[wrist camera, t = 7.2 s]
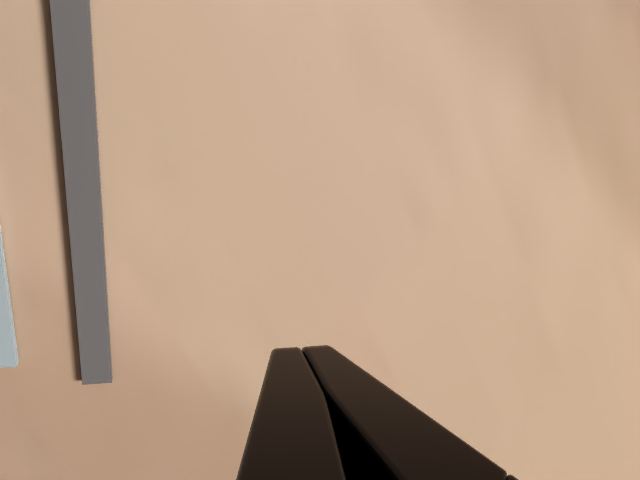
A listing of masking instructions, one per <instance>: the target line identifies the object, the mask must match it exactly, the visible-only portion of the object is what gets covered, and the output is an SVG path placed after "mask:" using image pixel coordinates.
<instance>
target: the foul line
mask: <svg viewBox="0 0 640 480" xmlns="http://www.w3.org/2000/svg"><path fill="white" fill-rule="evenodd" d="M50 11H51V23H52V35H53V47H54V58H55V70H56V82H57V94H58V105H59V117H60V129H61V141H62V152H63V164H64V176H65V188H66V199H67V211H68V223H69V235H70V246H71V258H72V270H73V282H74V293H75V305H76V317H77V329H78V340H79V352H80V364H81V376H82V385H83V384H98V383H112V366H111V349H110V333H109V316H108V299H107V283H106V266H105V250H104V233H103V216H102V200H101V183H100V167H99V150H98V133H97V117H96V100H95V83H94V67H93V50H92V34H91V17H90V0H50Z"/></svg>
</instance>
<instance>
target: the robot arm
mask: <svg viewBox="0 0 640 480" xmlns="http://www.w3.org/2000/svg"><path fill="white" fill-rule="evenodd" d="M236 480H518V479H517V478H515V477H514V476H512V475H508V476H507V473H506V471H505V470H504V469H502V468H501V467H499V466H498V465H497V464H495V463H494V462H492V461H491V460H490V459H488V458H487V457H485V456H484V455H483V454H481V453H480V452H478V451H477V450H476V449H474V448H473V447H471V446H470V445H469V444H467V443H466V442H464V441H463V440H461V439H460V438H459V437H457V436H456V435H454V434H453V433H452V432H450V431H449V430H447V429H446V428H445V427H443V426H442V425H440V424H439V423H438V422H436V421H435V420H433V419H432V418H431V417H429V416H428V415H426V414H425V413H424V412H422V411H421V410H419V409H418V408H416V407H415V406H414V405H412V404H411V403H409V402H408V401H407V400H405V399H404V398H402V397H401V396H400V395H398V394H397V393H395V392H394V391H393V390H391V389H390V388H388V387H387V386H386V385H384V384H383V383H381V382H380V381H379V380H377V379H376V378H374V377H373V376H371V375H370V374H369V373H367V372H366V371H364V370H363V369H362V368H360V367H359V366H357V365H356V364H355V363H353V362H352V361H350V360H349V359H348V358H346V357H345V356H343V355H342V354H341V353H339V352H338V351H336V350H335V349H334V348H332V347H330V346H327V345H324V346H309V347H304V348H302V350H301V349H300V348H297V347H293V348H277V349H274V350H273V351H272V352H271V356H270V359H269V363H268V367H267V370H266V374H265V377H264V381H263V385H262V388H261V392H260V396H259V399H258V403H257V406H256V410H255V414H254V417H253V421H252V424H251V428H250V432H249V435H248V439H247V443H246V446H245V450H244V453H243V457H242V461H241V464H240V468H239V472H238V475H237V479H236Z"/></svg>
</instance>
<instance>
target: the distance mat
mask: <svg viewBox="0 0 640 480" xmlns="http://www.w3.org/2000/svg"><path fill="white" fill-rule="evenodd" d="M18 363H19V359H18V352H17V344H16V337H15V329H14V322H13V314H12V307H11V300H10V292H9V285H8V277H7V270H6V262H5V255H4V247H3V240H2V233H1V225H0V368H6V367H17V365H18Z"/></svg>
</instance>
